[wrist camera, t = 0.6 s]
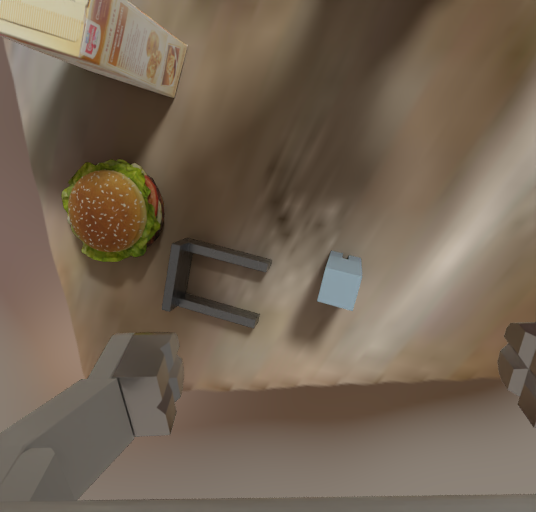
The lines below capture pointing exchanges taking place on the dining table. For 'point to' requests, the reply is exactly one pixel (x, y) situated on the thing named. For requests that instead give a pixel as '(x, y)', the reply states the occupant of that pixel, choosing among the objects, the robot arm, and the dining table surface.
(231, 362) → the dining table surface
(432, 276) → the dining table surface
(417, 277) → the dining table surface
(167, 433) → the robot arm
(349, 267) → the pale blue rectangular prism
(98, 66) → the coffeecake box
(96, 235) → the food
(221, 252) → the rail channel
